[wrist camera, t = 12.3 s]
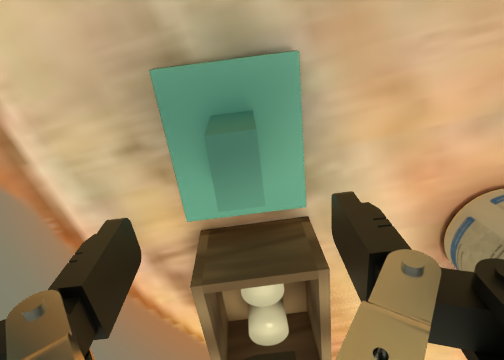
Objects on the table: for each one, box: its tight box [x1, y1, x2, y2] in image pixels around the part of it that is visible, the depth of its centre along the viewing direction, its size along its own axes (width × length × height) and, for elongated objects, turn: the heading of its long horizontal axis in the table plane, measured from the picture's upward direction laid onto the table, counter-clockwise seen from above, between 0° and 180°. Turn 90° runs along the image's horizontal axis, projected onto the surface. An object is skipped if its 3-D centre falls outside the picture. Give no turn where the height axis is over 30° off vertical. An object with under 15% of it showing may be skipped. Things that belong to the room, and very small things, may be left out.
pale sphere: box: [248, 296, 289, 346], centre depth 29 cm, size 4×4×4 cm
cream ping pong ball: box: [241, 284, 284, 307], centre depth 27 cm, size 4×4×4 cm
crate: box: [190, 217, 331, 360], centre depth 27 cm, size 12×10×7 cm
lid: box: [149, 51, 306, 222], centre depth 21 cm, size 12×10×7 cm
